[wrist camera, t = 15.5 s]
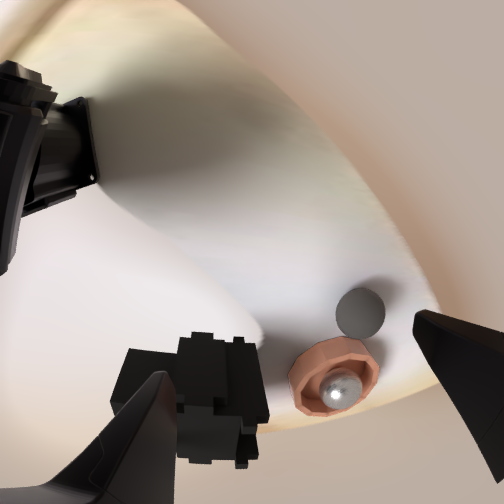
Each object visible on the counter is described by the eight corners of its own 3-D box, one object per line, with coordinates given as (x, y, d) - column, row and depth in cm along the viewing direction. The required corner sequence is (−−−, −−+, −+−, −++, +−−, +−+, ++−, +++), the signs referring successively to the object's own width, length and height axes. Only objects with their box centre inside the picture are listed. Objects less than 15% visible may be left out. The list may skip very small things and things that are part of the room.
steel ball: (311, 367, 24) (329, 397, 20) (351, 353, 24) (372, 380, 20) (313, 394, 25) (328, 423, 21) (349, 381, 26) (367, 407, 22)
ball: (327, 286, 22) (347, 311, 18) (371, 275, 22) (396, 297, 18) (329, 326, 23) (346, 355, 20) (370, 315, 23) (391, 340, 20)
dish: (284, 350, 24) (290, 369, 21) (370, 327, 24) (382, 342, 22) (292, 406, 26) (297, 424, 24) (364, 385, 27) (373, 401, 24)
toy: (266, 527, 11) (113, 516, 10) (245, 391, 25) (141, 384, 23) (291, 492, 9) (73, 473, 8) (255, 328, 22) (131, 319, 21)
